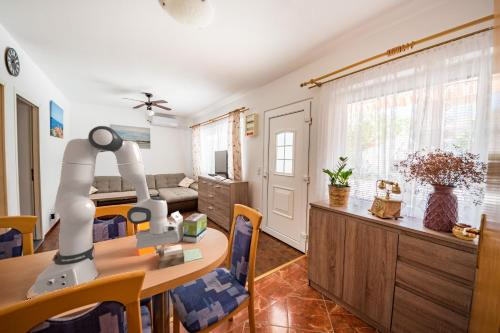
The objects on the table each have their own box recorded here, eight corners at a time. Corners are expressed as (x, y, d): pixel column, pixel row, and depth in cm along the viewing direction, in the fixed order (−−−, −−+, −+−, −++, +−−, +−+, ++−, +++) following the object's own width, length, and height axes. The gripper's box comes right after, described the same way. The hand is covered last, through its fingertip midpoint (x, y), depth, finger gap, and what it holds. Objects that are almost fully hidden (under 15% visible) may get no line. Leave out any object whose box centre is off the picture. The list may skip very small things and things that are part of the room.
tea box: (197, 243, 122) (197, 220, 121) (183, 241, 124) (182, 219, 123) (207, 233, 137) (206, 213, 136) (194, 232, 139) (194, 212, 138)
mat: (184, 262, 101) (184, 261, 101) (181, 251, 111) (181, 251, 111) (202, 258, 105) (202, 257, 105) (198, 248, 116) (198, 247, 116)
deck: (159, 269, 94) (158, 261, 94) (158, 255, 107) (158, 248, 107) (184, 263, 100) (184, 256, 100) (181, 250, 112) (181, 244, 112)
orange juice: (157, 250, 112) (156, 217, 111) (140, 255, 107) (139, 221, 105) (154, 245, 118) (153, 214, 117) (137, 250, 113) (136, 217, 111)
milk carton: (167, 241, 123) (166, 213, 122) (174, 237, 130) (173, 210, 129) (176, 243, 121) (175, 214, 120) (183, 238, 128) (182, 211, 127)
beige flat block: (164, 256, 99) (164, 252, 99) (163, 251, 104) (163, 247, 104) (182, 252, 103) (182, 249, 103) (181, 247, 108) (180, 244, 108)
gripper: (134, 233, 92) (135, 260, 93) (179, 226, 101) (179, 251, 102) (136, 228, 98) (137, 254, 99) (178, 222, 107) (178, 246, 108)
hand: (159, 252), depth 101 cm, fingers closed
